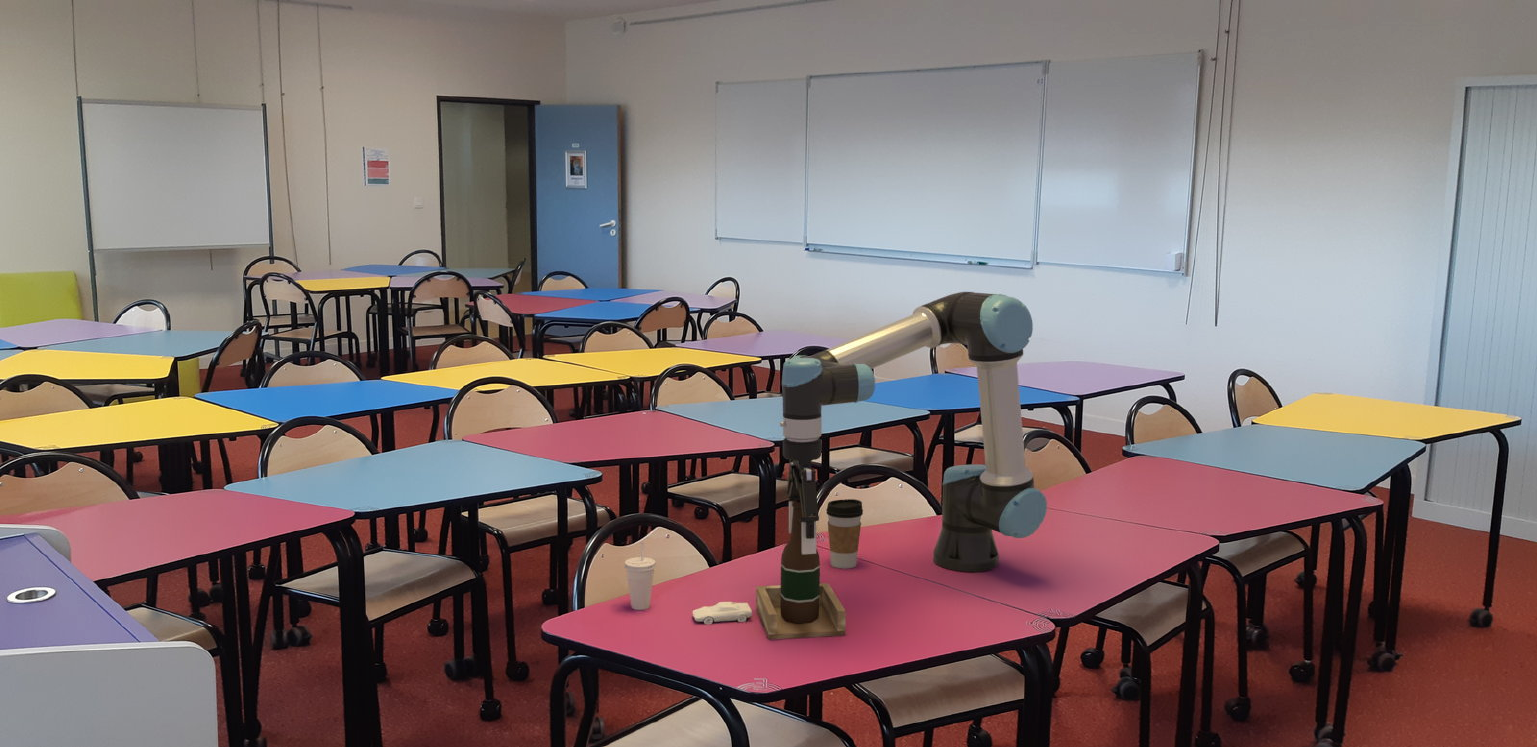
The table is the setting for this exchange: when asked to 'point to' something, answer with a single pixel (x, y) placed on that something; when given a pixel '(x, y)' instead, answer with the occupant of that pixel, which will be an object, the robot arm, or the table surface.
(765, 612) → the u rest
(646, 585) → the smoothie
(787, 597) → the beer bottle
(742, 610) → the toy car
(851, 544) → the coffee cup
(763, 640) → the table surface
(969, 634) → the table surface
